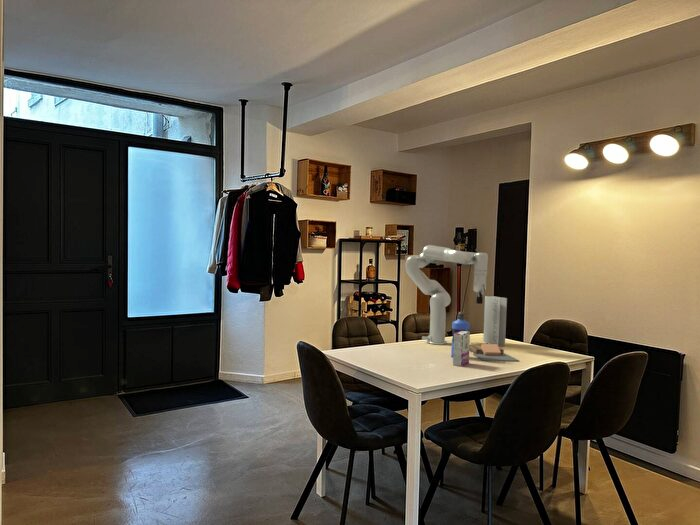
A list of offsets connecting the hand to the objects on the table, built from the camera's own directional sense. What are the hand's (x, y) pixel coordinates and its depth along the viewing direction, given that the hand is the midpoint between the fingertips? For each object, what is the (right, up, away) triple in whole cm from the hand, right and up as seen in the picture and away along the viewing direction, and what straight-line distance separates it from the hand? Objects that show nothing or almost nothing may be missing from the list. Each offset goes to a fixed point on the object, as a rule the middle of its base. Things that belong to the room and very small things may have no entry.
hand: (479, 303), depth 319 cm
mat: (+2, -28, -28) cm, 40 cm away
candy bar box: (-21, -28, -48) cm, 59 cm away
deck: (0, -28, -13) cm, 31 cm away
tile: (+1, -25, -21) cm, 33 cm away
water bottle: (-18, -27, -29) cm, 44 cm away
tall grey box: (+13, -27, +17) cm, 35 cm away
